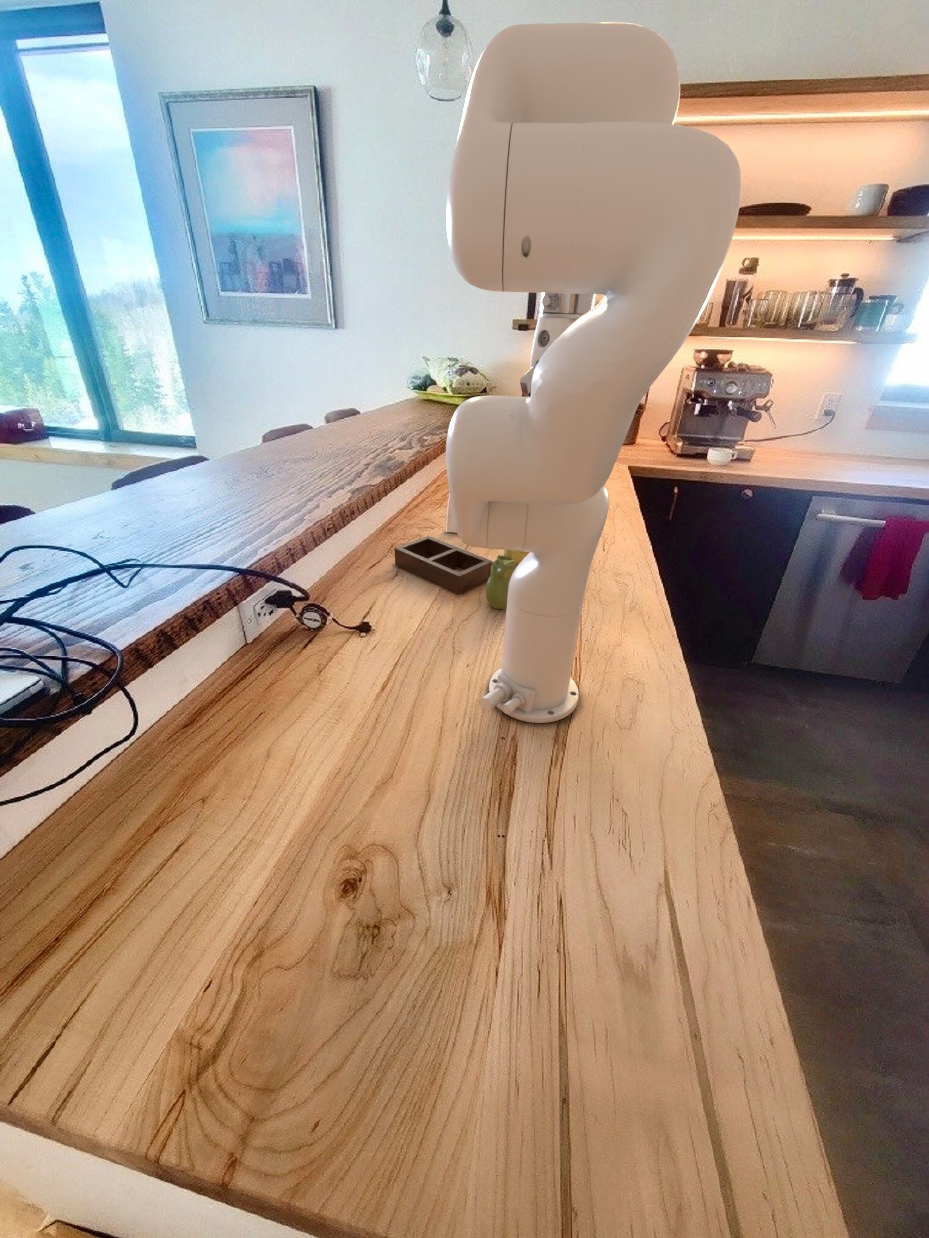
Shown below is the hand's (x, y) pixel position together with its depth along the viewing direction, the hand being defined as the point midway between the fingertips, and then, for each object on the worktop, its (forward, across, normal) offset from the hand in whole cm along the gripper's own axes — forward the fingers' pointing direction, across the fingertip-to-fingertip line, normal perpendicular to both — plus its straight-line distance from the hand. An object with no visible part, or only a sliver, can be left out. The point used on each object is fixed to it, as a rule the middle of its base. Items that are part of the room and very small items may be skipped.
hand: (551, 434), depth 79 cm
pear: (+31, -6, +3) cm, 31 cm away
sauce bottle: (+31, +11, +12) cm, 35 cm away
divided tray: (+30, -3, +21) cm, 37 cm away
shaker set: (+31, +18, +32) cm, 48 cm away
